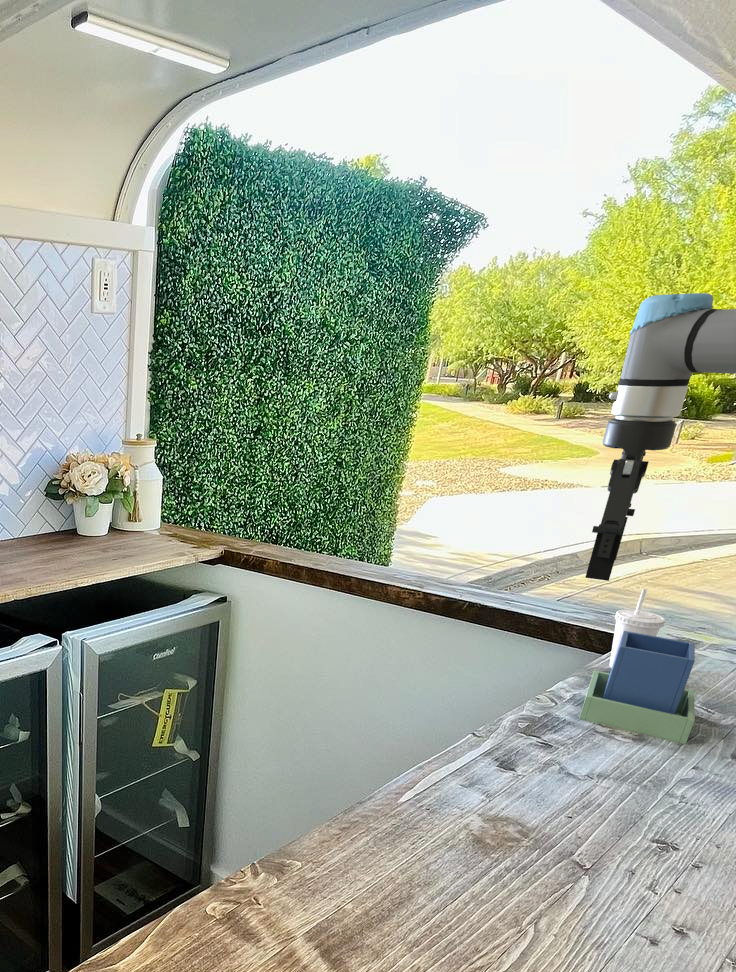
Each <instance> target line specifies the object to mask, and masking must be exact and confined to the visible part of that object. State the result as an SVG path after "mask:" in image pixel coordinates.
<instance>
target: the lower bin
mask: <svg viewBox="0 0 736 972" xmlns="http://www.w3.org/2000/svg"><path fill="white" fill-rule="evenodd" d="M609 675H610V672H605V671H600V670H596V669H595V670H593V672H592V675H591V678H590V681H589V685H588V688H587V691H586V694H585V698H584V702H583V704H582V708H581V711H580V714H579V717H578V718H579V720H582V721H588V722H591V723H595V724H599V725H604V726H608V727H612V728H616V729H620V730H625V731H629V732H633V733H637V734H640V735H645V736H650V737H653V738H658V739H662V740H666V741H670V742H673V743H674V742H675V743H679V744H683V745H686V744H687V742H688V739H689V737H690V735H691V731H692V729H693V726H694V724H695V720H696V719H695V716H696V715H695V714H696V712H695V710H696V709H695V707H696V705H695V703H696V702H695V701H696V699H695V697H696V694H695V693H696V692H695V690H692V689H687V688H685V689H684V691H683V694H682V697H681V700H680V702H679V705H678V708H677V710H676V713H675V715H674V714H670V713H665V712H661V711H656V710H652V709H647V708H643V707H638V706H634V705H630V704H625V703H621V702H616V701H612V700H607V699H603V698H602V696H603V693H604V690H605V687H606V684H607V681H608V678H609Z"/></svg>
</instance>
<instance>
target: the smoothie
mask: <svg viewBox="0 0 736 972" xmlns="http://www.w3.org/2000/svg"><path fill="white" fill-rule="evenodd" d="M647 592H648V589H646V588H642V590H641V593H640V596H639V599H638V601H637V605H636V608H635V609H619V610H617V611H616V613H615V615H614V619H615V625H614V634H613V639H612V645H611V651H610V658H609V665H608V666H609V667H610V669H612V666H613V662H614V659H615V656H616V653H617V650H618V647H619V644H620V641H621V638H622V635H623V632H624V631H628V632H634V633H640V634H645V635H651V636H656V637H657V635H658V633H659V631H660V629H661V628H664V627H665V623H666V619H665V617H663V616H661V615H659V614H656V613H653V612H651V611H650V612H649V611H645V610H641V609H642V606H643V603H644V600H645V597H646V594H647Z"/></svg>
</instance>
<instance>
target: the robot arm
mask: <svg viewBox="0 0 736 972" xmlns="http://www.w3.org/2000/svg"><path fill="white" fill-rule="evenodd" d="M713 305H714V296H713V294H711V293H707V292H702V293H701V292H694V293H676V294H675V293H671V294H658V295H657V294H656V295H651V296H649V297H647V298H645V299H644V300H643V301H642V302H641V303H640V304H639V306H638V307H639V308H638V310H637V314H636V315H635V319H634V322H633V325H632V327H631V328H632V329H631V330H630V332H629V340H628V345H627V348H626V353H625V357H624V361H623V366H622V370H621V374H620V378H619V380H618V385H617V388H616V389H617V391H612V392H610V394H609V395H608V398H609V399H610V400H615V401H613V403H612V406H611V410H610V413H611V415H613V416H614V418H611V419H610V420H608V421H607V424H606V428H605V432H604V435H603V439H602V444H603V446H604V447H606V448H609V449H617V450H619V449H622V452H621V457H620V458H618V459H613V461H612V463H611V467H610V471H609V475H610V476H609V481H608V484H607V491H608V492H609V494H608V497H607V500H606V504H605V508H604V511H603V513H602V514H603V515H602V518H601V520H600V521H601V522H600V523H599V525H593V526H592V530H591V533H592V534H593V533H595V534H596V537H595V541H594V543H593V548H592V552H591V555H590V559H589V562H588V565H587V566H588V567H587V570H586V574H585V579H591V580H599V581H605V582H609V581H610V578H611V575H612V571H613V567H614V564H615V561H616V560H617V557H618V553H619V550H620V547H621V543H622V539H623V536H624V532H625V528H626V526H627V522H628V518H629V517H634V515H635V512H636V509H635V508H631V507H632V500H633V496H634V494H636V493H638V491H639V490H640V489H639V488H640V485H641V482H642V479H643V478H645V476H646V473H647V470H648V466H649V460H648V461H647V460H644V457H645V456H646V453H647V452H646V451H664V450H667V449H668V448H670V447H671V445H672V440H673V439H674V435H675V432H676V427H677V423H676V421H675V420H674V418H677V417H679V416H681V413H682V410H683V406H684V402H685V400H686V396H687V392H688V389H689V385H690V384H689V383H690V380H691V377H692V375H693V373H694V374H703V373H709V374H710V373H711V374H733V375H734V374H735V375H736V308H730V309H723V308H714V306H713Z"/></svg>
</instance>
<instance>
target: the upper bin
mask: <svg viewBox="0 0 736 972" xmlns="http://www.w3.org/2000/svg"><path fill="white" fill-rule="evenodd" d="M695 660H696V643H695V642H689V641H684V640H680V639H679V640H678V639H673V638H666V637H662V636H657V635H656V636H651V635H645V634H640V633H634V632H628V631H624V632H623V635H622V638H621V641H620V644H619V647H618V650H617V653H616V656H615V659H614V662H613V666H612V668H610V672H609V673H610V675H609V678H608V681H607V684H606V687H605V690H604V693H603V696H602V698H603V699H607V700H612V701H616V702H621V703H625V704H630V705H634V706H638V707H643V708H647V709H652V710H656V711H661V712H665V713H670V714H674V715H675V713H676V710H677V708H678V705H679V702H680V700H681V697H682V694H683V691H684V689H686V686H687V683H688V681H689V678H690V675H691V672H692V670H693V667H694V664H695Z"/></svg>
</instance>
